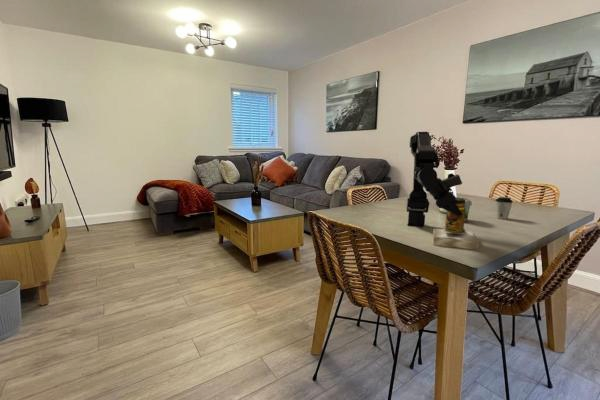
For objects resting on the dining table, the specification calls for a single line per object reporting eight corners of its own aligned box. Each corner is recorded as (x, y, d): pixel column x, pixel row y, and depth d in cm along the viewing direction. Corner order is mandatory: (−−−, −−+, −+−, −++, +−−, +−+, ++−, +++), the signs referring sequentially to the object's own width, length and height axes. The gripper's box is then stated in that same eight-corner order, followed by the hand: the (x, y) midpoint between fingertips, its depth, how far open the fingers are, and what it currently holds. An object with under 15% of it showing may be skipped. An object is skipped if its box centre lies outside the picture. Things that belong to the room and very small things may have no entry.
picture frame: (433, 244, 106) (434, 236, 106) (432, 235, 117) (433, 228, 117) (478, 249, 101) (479, 241, 100) (473, 239, 112) (474, 231, 111)
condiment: (444, 232, 107) (447, 200, 104) (442, 226, 114) (444, 196, 112) (467, 234, 104) (471, 201, 102) (463, 228, 112) (466, 197, 110)
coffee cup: (502, 220, 138) (505, 199, 136) (489, 217, 145) (492, 197, 143) (514, 219, 140) (517, 199, 138) (501, 216, 146) (503, 196, 144)
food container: (475, 223, 134) (478, 201, 132) (462, 223, 134) (464, 201, 132) (461, 216, 146) (463, 196, 144) (449, 216, 146) (450, 196, 144)
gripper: (450, 169, 97) (485, 204, 95) (447, 164, 114) (476, 194, 112) (422, 191, 102) (455, 225, 99) (423, 183, 118) (451, 213, 116)
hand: (460, 213), depth 107 cm, fingers closed on condiment, 6 cm apart
